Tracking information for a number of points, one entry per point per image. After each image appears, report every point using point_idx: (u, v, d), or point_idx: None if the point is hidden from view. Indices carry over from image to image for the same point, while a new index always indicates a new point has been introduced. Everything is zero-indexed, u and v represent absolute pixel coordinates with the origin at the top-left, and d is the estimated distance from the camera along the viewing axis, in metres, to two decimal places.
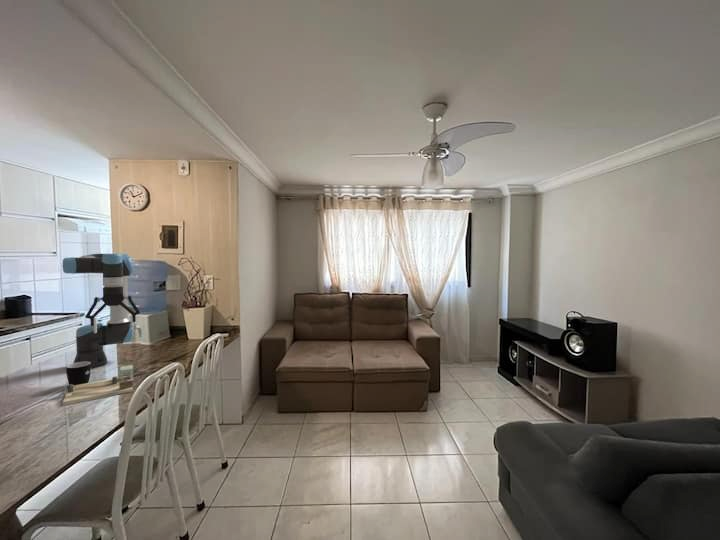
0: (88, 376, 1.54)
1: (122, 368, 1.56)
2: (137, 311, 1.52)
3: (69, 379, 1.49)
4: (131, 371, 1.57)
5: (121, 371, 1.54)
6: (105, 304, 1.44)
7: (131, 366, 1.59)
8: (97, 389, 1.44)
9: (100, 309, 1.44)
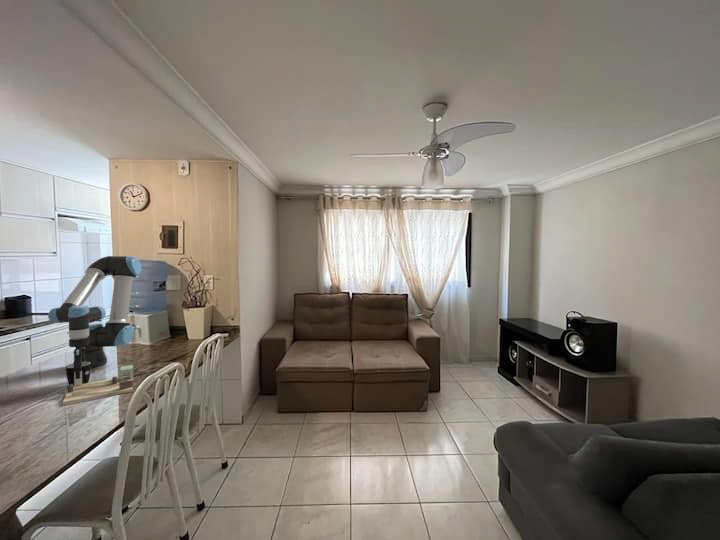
0: (88, 376, 1.53)
1: (122, 368, 1.56)
2: None
3: (69, 379, 1.49)
4: (131, 371, 1.57)
5: (121, 371, 1.54)
6: None
7: (131, 366, 1.59)
8: (97, 389, 1.44)
9: None
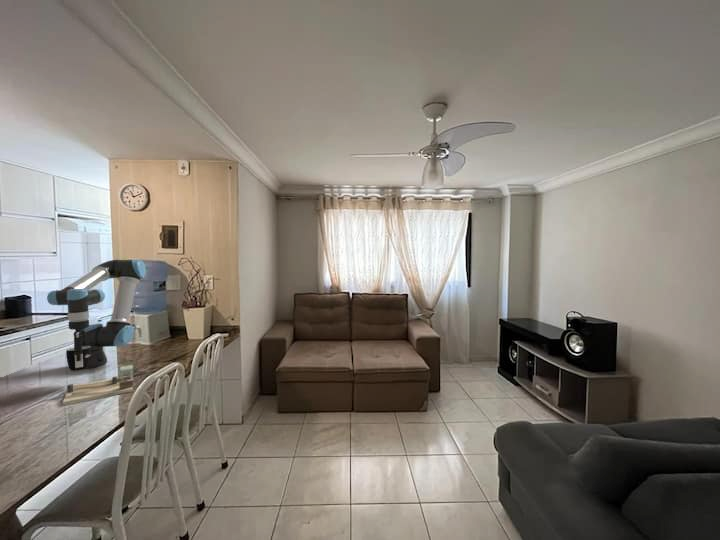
0: (88, 360, 1.54)
1: (122, 368, 1.56)
2: (74, 351, 1.46)
3: (69, 362, 1.49)
4: (131, 371, 1.57)
5: (121, 371, 1.54)
6: None
7: (131, 366, 1.59)
8: (97, 389, 1.44)
9: None
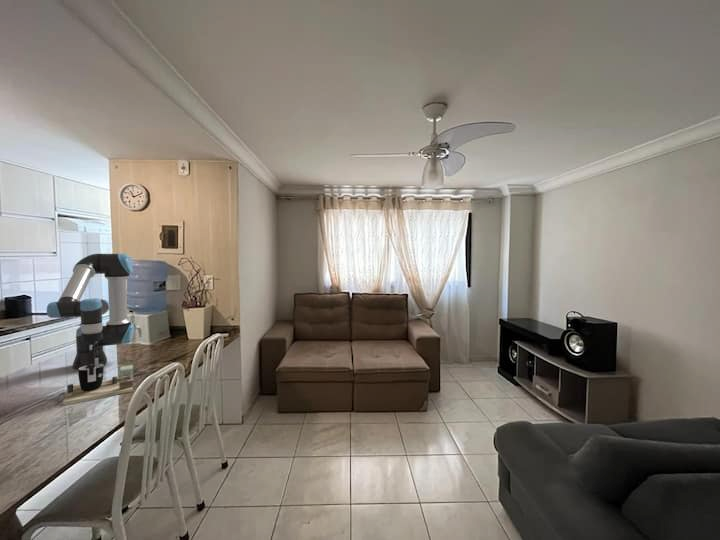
0: (101, 379, 1.45)
1: (122, 368, 1.56)
2: (87, 365, 1.38)
3: (81, 382, 1.41)
4: (131, 371, 1.57)
5: (121, 371, 1.54)
6: None
7: (131, 366, 1.59)
8: (97, 389, 1.44)
9: None
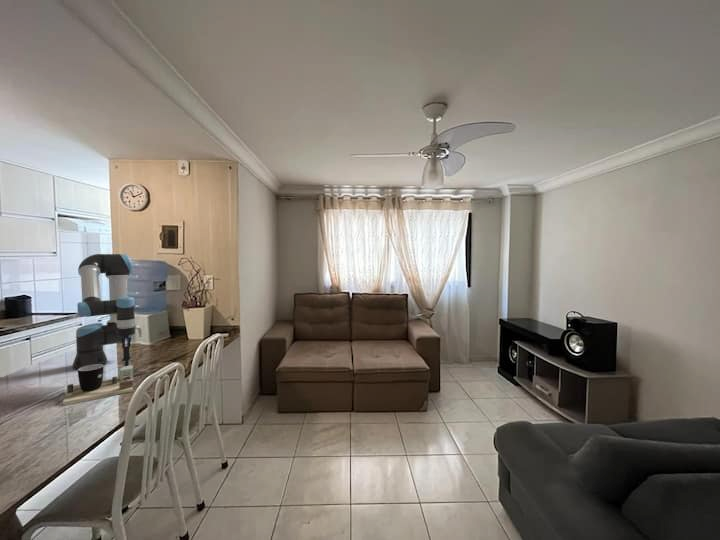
0: (101, 380, 1.45)
1: (122, 368, 1.56)
2: None
3: (81, 383, 1.41)
4: (131, 371, 1.57)
5: (121, 371, 1.54)
6: None
7: (131, 366, 1.59)
8: (97, 389, 1.44)
9: None
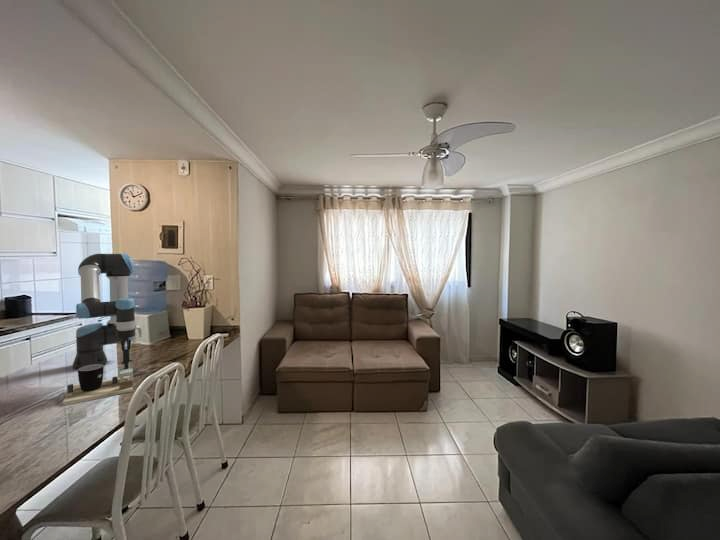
0: (101, 380, 1.45)
1: (122, 371, 1.52)
2: (123, 361, 1.54)
3: (81, 383, 1.41)
4: (131, 375, 1.52)
5: (121, 375, 1.50)
6: None
7: (131, 369, 1.55)
8: (97, 389, 1.44)
9: None
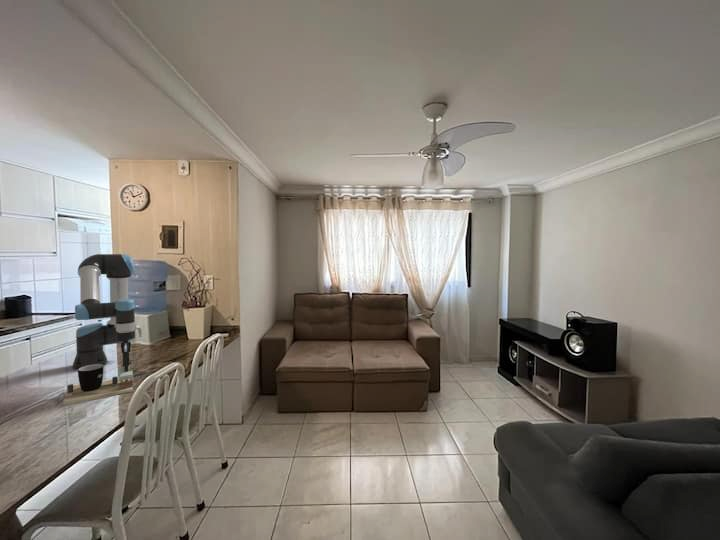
0: (101, 380, 1.45)
1: (121, 374, 1.48)
2: (123, 363, 1.50)
3: (81, 383, 1.41)
4: (131, 377, 1.48)
5: (120, 377, 1.46)
6: None
7: (131, 372, 1.51)
8: (97, 389, 1.44)
9: None
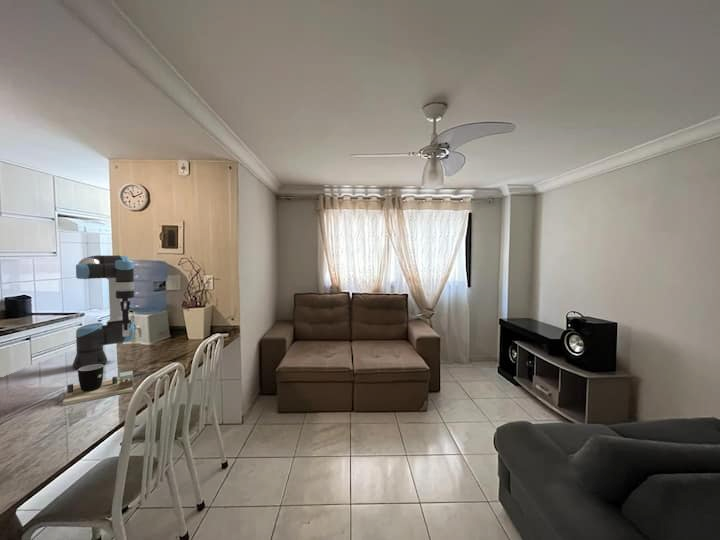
0: (101, 380, 1.45)
1: (121, 374, 1.48)
2: (122, 320, 1.56)
3: (81, 383, 1.41)
4: (131, 377, 1.48)
5: (120, 377, 1.46)
6: None
7: (131, 372, 1.51)
8: (97, 389, 1.44)
9: None
